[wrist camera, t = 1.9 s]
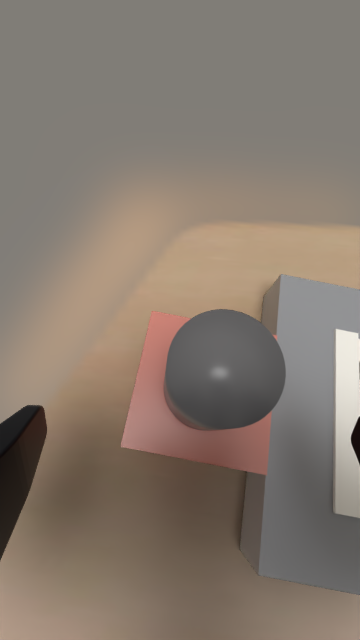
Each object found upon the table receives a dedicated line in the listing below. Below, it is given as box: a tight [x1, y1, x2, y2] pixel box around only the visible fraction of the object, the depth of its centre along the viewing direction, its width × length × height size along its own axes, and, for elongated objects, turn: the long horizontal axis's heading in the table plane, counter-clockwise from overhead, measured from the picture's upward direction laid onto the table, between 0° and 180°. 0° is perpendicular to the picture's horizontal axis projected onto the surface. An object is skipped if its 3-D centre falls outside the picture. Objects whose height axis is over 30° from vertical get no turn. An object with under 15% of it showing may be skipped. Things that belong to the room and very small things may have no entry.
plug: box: [120, 309, 286, 475], centre depth 12 cm, size 4×4×12 cm
